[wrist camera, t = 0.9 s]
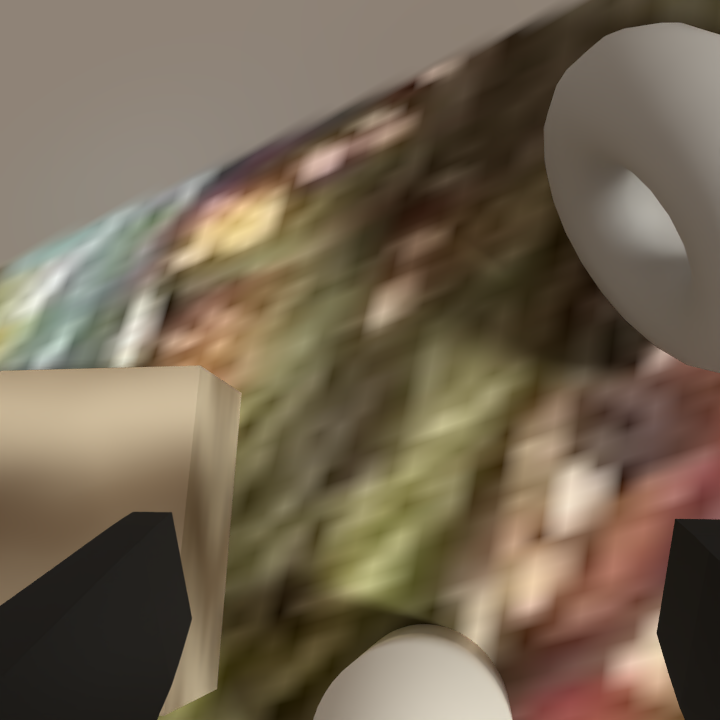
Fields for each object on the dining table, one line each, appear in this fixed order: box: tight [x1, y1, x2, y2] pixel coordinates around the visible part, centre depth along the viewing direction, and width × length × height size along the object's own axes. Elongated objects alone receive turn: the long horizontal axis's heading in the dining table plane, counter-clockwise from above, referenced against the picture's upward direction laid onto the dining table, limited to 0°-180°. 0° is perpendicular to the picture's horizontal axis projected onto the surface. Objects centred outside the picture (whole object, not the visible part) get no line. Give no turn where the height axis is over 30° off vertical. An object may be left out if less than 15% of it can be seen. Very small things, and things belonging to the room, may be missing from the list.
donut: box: [544, 23, 720, 373], centre depth 18 cm, size 10×4×10 cm, turn 28°
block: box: [0, 366, 241, 716], centre depth 22 cm, size 10×10×4 cm
